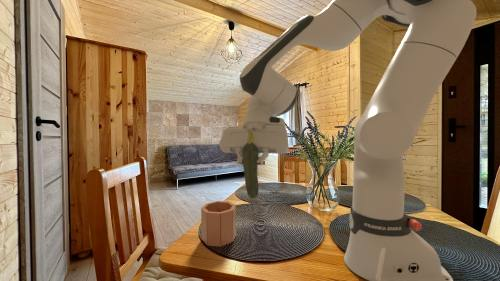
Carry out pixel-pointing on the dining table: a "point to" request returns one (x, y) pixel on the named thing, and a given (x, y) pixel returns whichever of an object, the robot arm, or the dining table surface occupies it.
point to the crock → (218, 223)
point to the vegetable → (250, 166)
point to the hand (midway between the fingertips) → (249, 163)
